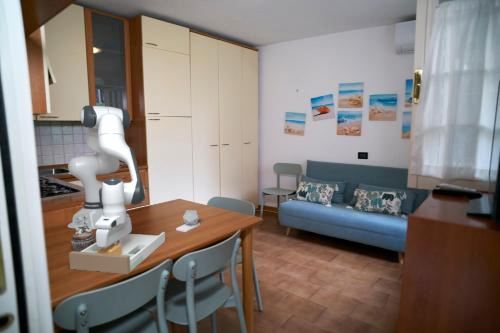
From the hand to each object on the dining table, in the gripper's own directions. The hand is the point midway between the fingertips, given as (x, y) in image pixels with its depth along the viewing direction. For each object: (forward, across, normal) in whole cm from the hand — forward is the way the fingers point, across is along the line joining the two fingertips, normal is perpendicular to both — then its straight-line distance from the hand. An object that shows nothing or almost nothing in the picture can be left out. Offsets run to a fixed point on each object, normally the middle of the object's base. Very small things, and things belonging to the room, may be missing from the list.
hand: (116, 250), depth 132 cm
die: (+4, -48, +16) cm, 51 cm away
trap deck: (+4, -5, 0) cm, 6 cm away
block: (+1, +5, 0) cm, 5 cm away
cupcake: (+4, -7, -20) cm, 22 cm away
